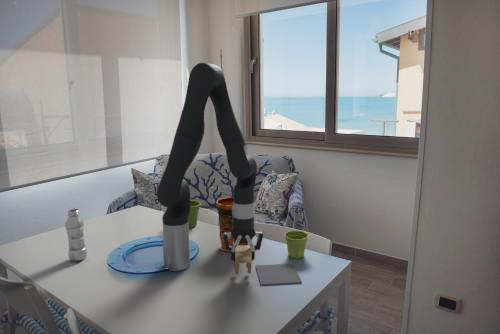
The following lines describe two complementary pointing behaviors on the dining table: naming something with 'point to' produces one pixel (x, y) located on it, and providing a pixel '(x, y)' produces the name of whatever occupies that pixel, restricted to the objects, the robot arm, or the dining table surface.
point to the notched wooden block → (243, 257)
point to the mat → (277, 274)
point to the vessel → (225, 220)
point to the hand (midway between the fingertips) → (242, 260)
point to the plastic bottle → (75, 236)
